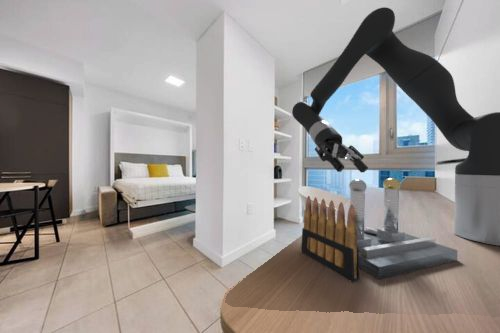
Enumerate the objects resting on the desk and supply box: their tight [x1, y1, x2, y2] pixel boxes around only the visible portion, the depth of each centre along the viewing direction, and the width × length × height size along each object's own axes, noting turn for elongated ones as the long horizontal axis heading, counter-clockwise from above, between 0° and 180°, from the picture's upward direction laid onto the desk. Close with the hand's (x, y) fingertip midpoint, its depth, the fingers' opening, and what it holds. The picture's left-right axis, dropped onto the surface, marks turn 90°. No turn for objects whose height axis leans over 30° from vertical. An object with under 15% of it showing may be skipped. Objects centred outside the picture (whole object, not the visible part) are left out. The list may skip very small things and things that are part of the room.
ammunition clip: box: [300, 195, 360, 283], centre depth 31 cm, size 11×2×12 cm, turn 30°
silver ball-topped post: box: [348, 178, 371, 251], centre depth 36 cm, size 4×7×14 cm, turn 17°
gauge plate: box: [358, 228, 458, 280], centre depth 36 cm, size 22×13×3 cm, turn 107°
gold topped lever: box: [365, 177, 406, 243], centre depth 39 cm, size 4×7×14 cm, turn 17°
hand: (353, 170), depth 46 cm, fingers open, 8 cm apart
